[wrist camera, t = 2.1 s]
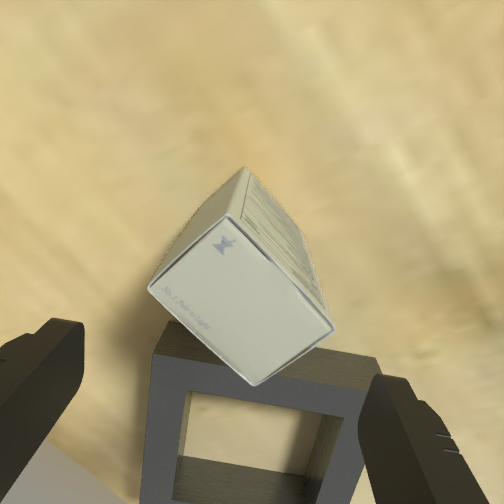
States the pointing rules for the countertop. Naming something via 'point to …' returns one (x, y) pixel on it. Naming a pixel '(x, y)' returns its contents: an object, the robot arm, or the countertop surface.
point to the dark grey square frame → (268, 392)
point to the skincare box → (245, 281)
